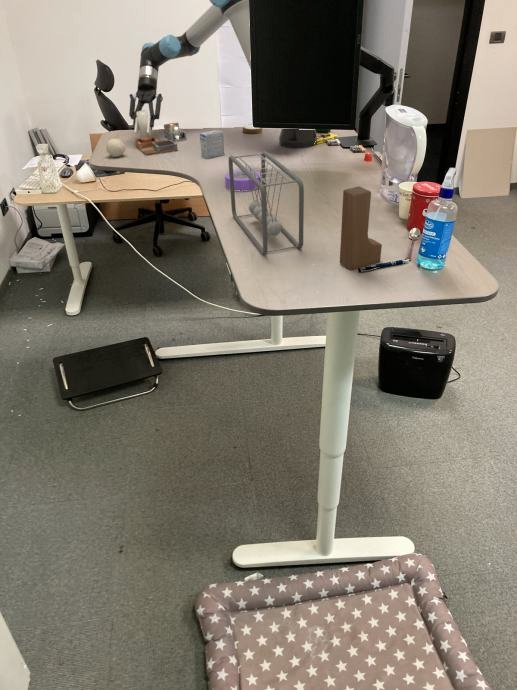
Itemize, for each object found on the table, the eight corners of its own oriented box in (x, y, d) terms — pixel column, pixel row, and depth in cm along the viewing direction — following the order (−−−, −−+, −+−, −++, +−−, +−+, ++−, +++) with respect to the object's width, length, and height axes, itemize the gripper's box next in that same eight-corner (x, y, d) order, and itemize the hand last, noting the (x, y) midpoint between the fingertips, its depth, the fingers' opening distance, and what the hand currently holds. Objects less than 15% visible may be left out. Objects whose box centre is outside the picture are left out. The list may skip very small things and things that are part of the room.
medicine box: (218, 152, 212) (216, 129, 207) (224, 155, 209) (223, 131, 204) (201, 156, 208) (199, 133, 203) (207, 159, 205) (205, 135, 200)
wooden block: (369, 254, 133) (375, 181, 123) (380, 261, 130) (388, 187, 119) (338, 263, 129) (342, 189, 119) (350, 270, 126) (355, 195, 116)
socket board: (177, 150, 216) (176, 144, 215) (145, 155, 212) (144, 148, 211) (166, 141, 229) (165, 134, 228) (135, 145, 225) (134, 139, 224)
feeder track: (186, 140, 229) (185, 126, 226) (172, 142, 227) (170, 128, 224) (179, 134, 238) (177, 121, 235) (165, 136, 236) (163, 123, 233)
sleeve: (153, 140, 222) (149, 112, 215) (142, 142, 220) (137, 114, 213) (150, 137, 225) (146, 109, 218) (139, 139, 224) (134, 111, 217)
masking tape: (255, 178, 185) (254, 167, 183) (265, 189, 176) (265, 177, 174) (221, 183, 182) (220, 171, 180) (231, 194, 173) (230, 182, 171)
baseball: (123, 159, 210) (120, 141, 206) (105, 159, 211) (102, 141, 207) (129, 154, 215) (126, 136, 211) (111, 154, 216) (108, 136, 212)
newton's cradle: (231, 216, 157) (227, 153, 147) (266, 211, 159) (264, 148, 149) (264, 258, 133) (261, 187, 123) (303, 251, 136) (304, 181, 126)
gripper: (171, 87, 224) (166, 139, 220) (130, 87, 226) (124, 139, 222) (166, 75, 217) (161, 128, 213) (123, 75, 219) (118, 129, 215)
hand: (142, 134), depth 217 cm, fingers closed on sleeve, 4 cm apart
